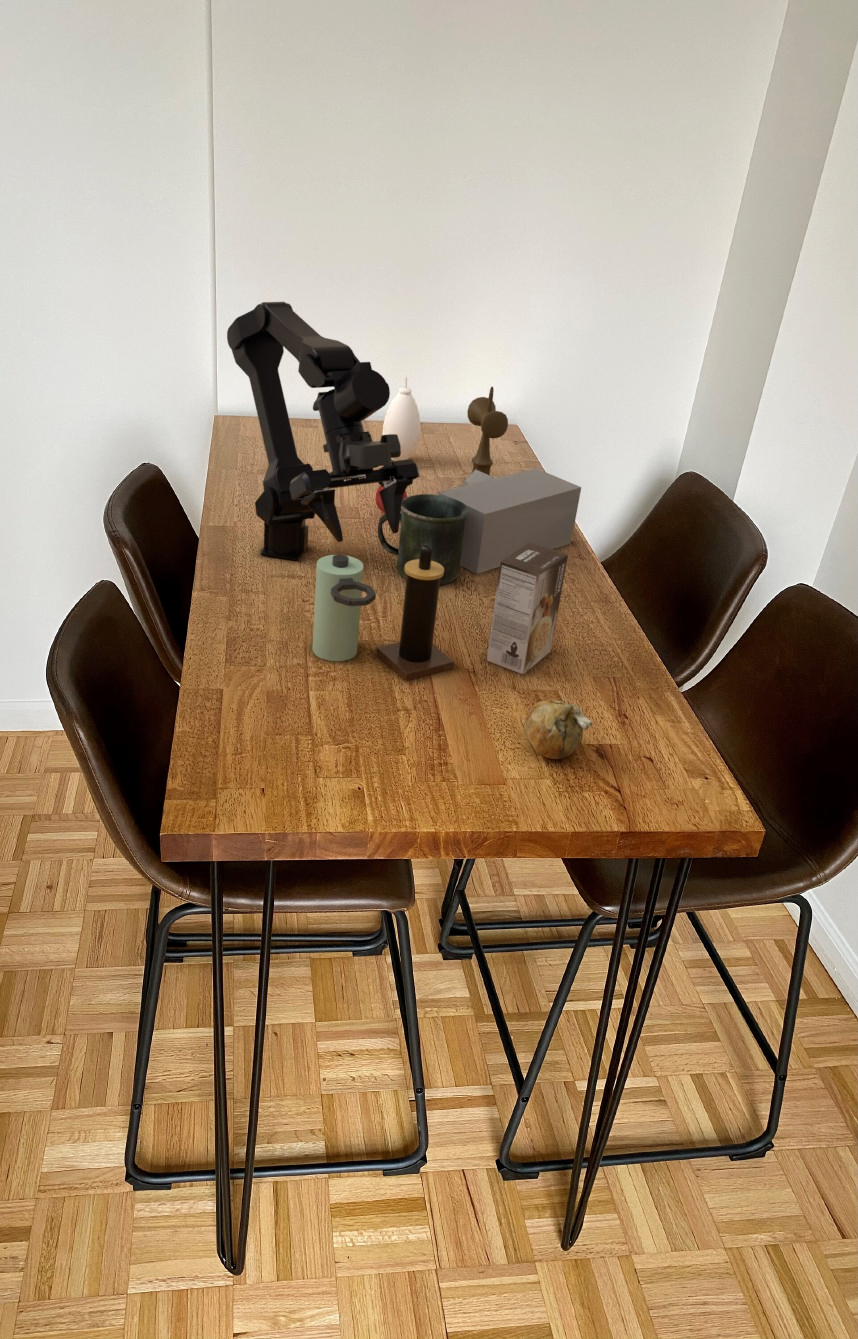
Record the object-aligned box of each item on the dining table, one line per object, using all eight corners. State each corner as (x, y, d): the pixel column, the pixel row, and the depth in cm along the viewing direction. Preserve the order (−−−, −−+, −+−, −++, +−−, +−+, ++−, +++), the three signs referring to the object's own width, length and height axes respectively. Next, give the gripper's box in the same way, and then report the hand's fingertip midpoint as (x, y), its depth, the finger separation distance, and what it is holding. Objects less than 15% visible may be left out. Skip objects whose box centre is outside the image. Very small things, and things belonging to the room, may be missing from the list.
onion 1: (369, 518, 193) (372, 477, 189) (381, 508, 198) (385, 468, 194) (397, 525, 192) (401, 484, 188) (410, 515, 197) (414, 474, 192)
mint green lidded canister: (307, 641, 152) (312, 549, 144) (350, 637, 154) (356, 547, 146) (329, 687, 141) (336, 591, 134) (375, 683, 143) (383, 588, 136)
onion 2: (574, 734, 137) (585, 682, 133) (584, 770, 130) (596, 716, 126) (517, 731, 137) (526, 678, 133) (524, 767, 130) (534, 713, 126)
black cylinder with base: (375, 654, 150) (385, 538, 141) (422, 643, 154) (434, 529, 145) (405, 681, 145) (418, 561, 136) (453, 668, 149) (468, 552, 140)
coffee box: (514, 638, 159) (529, 540, 151) (551, 652, 156) (570, 553, 148) (484, 661, 152) (499, 560, 144) (523, 676, 149) (541, 574, 141)
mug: (460, 591, 171) (469, 522, 165) (371, 582, 170) (377, 513, 164) (461, 563, 180) (469, 497, 174) (376, 554, 180) (381, 488, 174)
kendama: (486, 474, 220) (498, 379, 210) (500, 491, 212) (514, 393, 202) (458, 474, 218) (470, 378, 208) (472, 492, 210) (485, 393, 200)
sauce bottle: (416, 469, 219) (425, 383, 210) (379, 465, 218) (386, 379, 209) (417, 456, 225) (425, 372, 216) (381, 453, 225) (387, 369, 216)
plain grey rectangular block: (480, 501, 207) (487, 447, 201) (571, 543, 193) (581, 487, 187) (385, 526, 191) (390, 469, 185) (476, 574, 177) (485, 513, 172)
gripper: (308, 419, 140) (335, 534, 140) (426, 409, 149) (450, 516, 150) (277, 443, 149) (302, 550, 150) (389, 432, 159) (412, 533, 159)
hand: (368, 537), depth 152 cm, fingers open, 9 cm apart
